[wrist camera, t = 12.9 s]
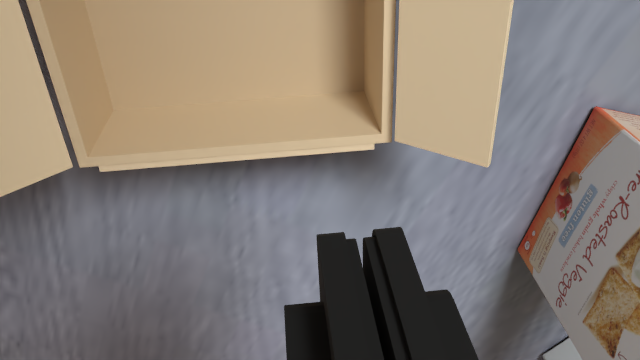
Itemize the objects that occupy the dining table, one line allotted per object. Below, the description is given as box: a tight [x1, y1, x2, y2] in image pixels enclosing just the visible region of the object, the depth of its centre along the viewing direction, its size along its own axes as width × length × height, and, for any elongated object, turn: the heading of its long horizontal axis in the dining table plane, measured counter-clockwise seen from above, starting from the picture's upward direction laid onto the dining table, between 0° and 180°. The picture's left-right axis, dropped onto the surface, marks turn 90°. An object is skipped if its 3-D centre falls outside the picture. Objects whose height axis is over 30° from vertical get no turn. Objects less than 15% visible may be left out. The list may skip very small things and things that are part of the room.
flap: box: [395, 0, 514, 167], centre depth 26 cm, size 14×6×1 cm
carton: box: [26, 0, 396, 172], centre depth 31 cm, size 16×18×7 cm
